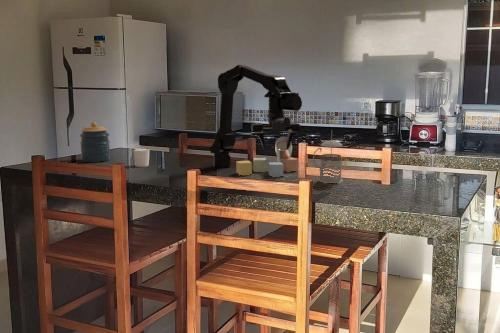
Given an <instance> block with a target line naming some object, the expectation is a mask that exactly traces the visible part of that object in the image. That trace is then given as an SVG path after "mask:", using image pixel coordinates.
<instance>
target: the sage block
mask: <svg viewBox="0 0 500 333" xmlns="http://www.w3.org/2000/svg"><path fill="white" fill-rule="evenodd" d="M266 160H267V158H266V157H253V162H252V173H266V172H267V171H266V164H267V163H266Z"/></svg>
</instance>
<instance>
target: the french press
mask: <svg viewBox="0 0 500 333" xmlns="http://www.w3.org/2000/svg"><path fill="white" fill-rule="evenodd" d="M335 116H336V115H335V114H330V115H329V118H331V119H333V118H336V117H335ZM330 137H331V138H330V140H326V141H324V142H321V144H320V147H319V148H317V149H316V150H314V151H313V152H314V153H313V156H312V161H313V164H314V166H315V167H317V168H319V178H318V179H317V180H318V181H320V182H324V183H323V184H327V183H337V184H342V183H341V182H343V181H344V180H343V179H342V164H343V163H342V161H343V159H341V158H340V157H342V155H341V154H337V153H335V154H334V153H332V152H333V150H332V149H333V148H341V147H343V144H342V143H341V142H339V141H337V140H334V139H333V131H331V136H330ZM322 148H330V153H324V154H321V157H322V158H321V159H320V165H318V164H317V163H316V160H315V154H316V152H317V151H319V150H320V153H321V152H322V151H323V150H322ZM323 169H324V170H323ZM329 169H332V170H334V171H336V172H334V171H332V170H329ZM338 170H340V171H338ZM323 171H325V172H324V173H323ZM326 172H327V173H326ZM328 172H331V173H333V174H335V175H333V174H331V173H328ZM339 173H340V174H339ZM324 174H328V175H331V176H334V177H330V176H323V175H324ZM338 174H339V175H338ZM318 181H317V182H318ZM320 182H319V183H320ZM343 183H344V182H343Z"/></svg>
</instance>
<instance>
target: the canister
mask: <svg viewBox="0 0 500 333" xmlns="http://www.w3.org/2000/svg"><path fill="white" fill-rule="evenodd" d="M107 131H108V129H107V128H106V127H105V126H102V125H98V123H97V122H96V121H92V122H91V124H90V125H89V126H84V128H81V133H80V134H79V137H80V142H79V144H80V160H81V162H84V163H101V162H100V161H104V162H108V161H110V159H111V153H110V148H111V147H110V142H111V141H110V140H109V136H110V133H108V132H107ZM107 160H108V161H107Z"/></svg>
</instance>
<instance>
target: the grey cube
mask: <svg viewBox="0 0 500 333" xmlns="http://www.w3.org/2000/svg"><path fill="white" fill-rule="evenodd" d="M268 175H270V176H283V177H284V171H283V164H282V163H281V162H277V161H275V162H274V161H273V162H268ZM270 176H269V177H270Z"/></svg>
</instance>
